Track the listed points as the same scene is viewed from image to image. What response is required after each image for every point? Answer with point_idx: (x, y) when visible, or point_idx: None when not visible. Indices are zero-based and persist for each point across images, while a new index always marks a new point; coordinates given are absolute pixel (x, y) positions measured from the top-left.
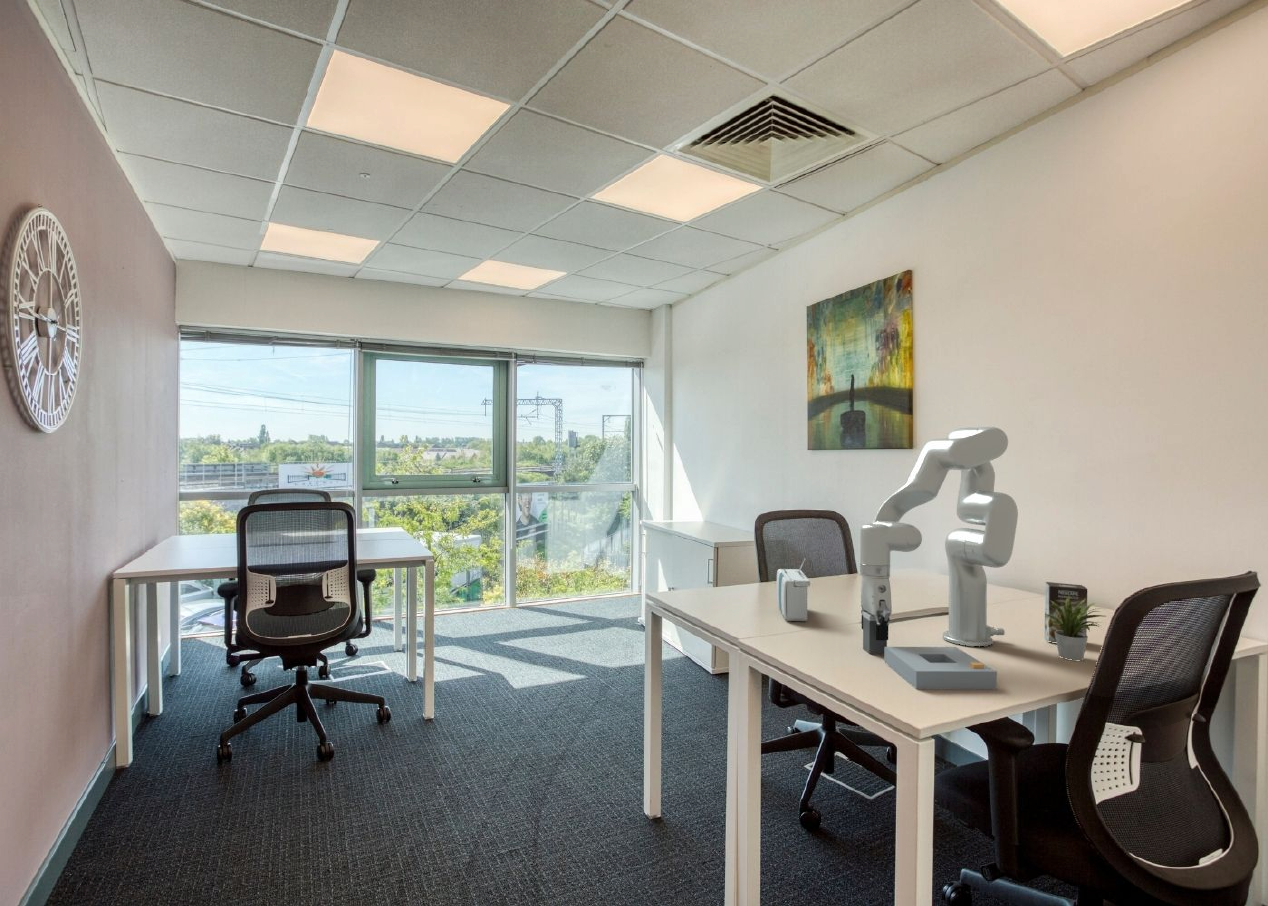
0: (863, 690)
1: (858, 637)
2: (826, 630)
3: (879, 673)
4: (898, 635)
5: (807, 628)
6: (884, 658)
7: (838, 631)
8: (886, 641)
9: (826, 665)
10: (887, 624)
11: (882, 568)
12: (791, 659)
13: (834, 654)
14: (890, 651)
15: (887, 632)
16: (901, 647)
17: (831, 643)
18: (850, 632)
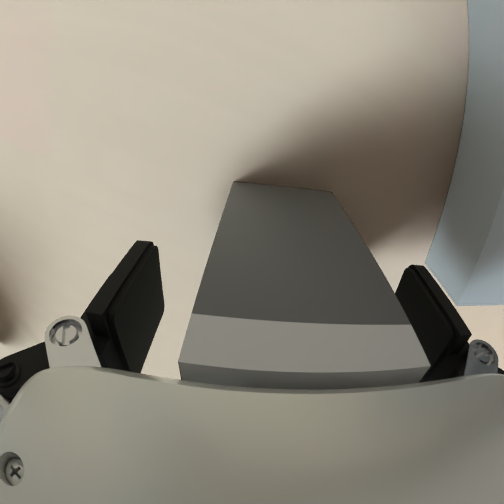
0: (498, 364)
1: (54, 211)
2: (16, 288)
3: (475, 315)
4: (28, 19)
5: (22, 328)
6: (433, 273)
7: (11, 256)
8: (350, 223)
9: None
10: (484, 354)
11: None
12: None
13: None
14: (496, 304)
15: (442, 299)
16: (496, 233)
17: (157, 343)
18: (7, 217)
